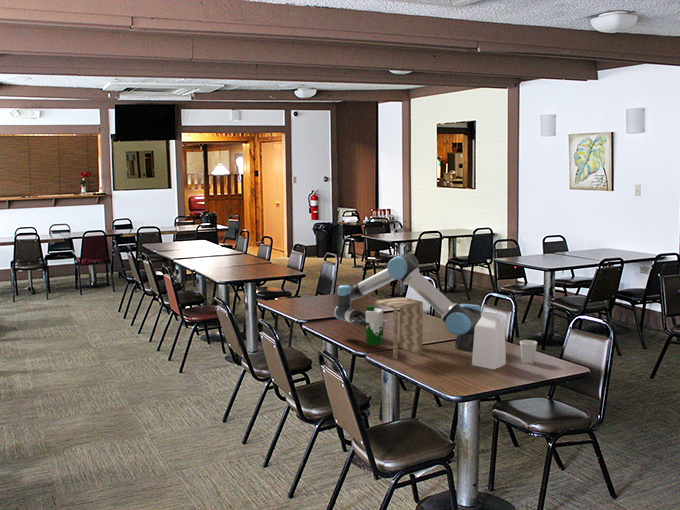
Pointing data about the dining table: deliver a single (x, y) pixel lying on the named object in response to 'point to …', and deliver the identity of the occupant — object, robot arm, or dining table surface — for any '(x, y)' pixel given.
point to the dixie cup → (528, 350)
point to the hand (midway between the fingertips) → (381, 324)
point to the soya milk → (375, 334)
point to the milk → (489, 342)
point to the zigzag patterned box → (406, 323)
